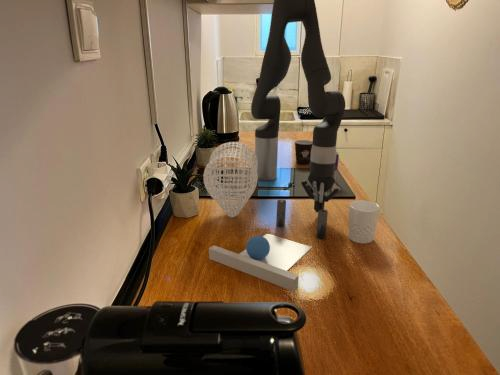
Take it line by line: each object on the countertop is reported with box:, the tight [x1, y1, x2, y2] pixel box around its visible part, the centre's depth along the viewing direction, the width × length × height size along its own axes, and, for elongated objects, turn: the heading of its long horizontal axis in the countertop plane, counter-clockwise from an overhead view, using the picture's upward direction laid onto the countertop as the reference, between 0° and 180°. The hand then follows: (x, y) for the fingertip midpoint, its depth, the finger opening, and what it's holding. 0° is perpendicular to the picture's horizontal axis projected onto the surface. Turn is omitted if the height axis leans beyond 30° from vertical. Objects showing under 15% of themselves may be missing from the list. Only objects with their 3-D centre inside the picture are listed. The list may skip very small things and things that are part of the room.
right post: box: [315, 209, 329, 240], centre depth 106 cm, size 3×3×8 cm
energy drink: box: [334, 151, 340, 184], centre depth 150 cm, size 5×5×12 cm
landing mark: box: [239, 233, 313, 272], centre depth 100 cm, size 14×14×1 cm
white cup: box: [347, 199, 381, 245], centre depth 105 cm, size 8×8×10 cm
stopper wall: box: [208, 245, 300, 292], centre depth 90 cm, size 24×2×3 cm, turn 56°
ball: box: [245, 235, 270, 260], centre depth 95 cm, size 6×6×6 cm
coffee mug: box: [294, 139, 313, 166], centre depth 174 cm, size 12×9×10 cm
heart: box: [202, 141, 258, 218], centre depth 116 cm, size 28×16×22 cm, turn 179°
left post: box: [275, 198, 287, 229], centre depth 113 cm, size 3×3×8 cm
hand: (318, 211), depth 120 cm, fingers closed
